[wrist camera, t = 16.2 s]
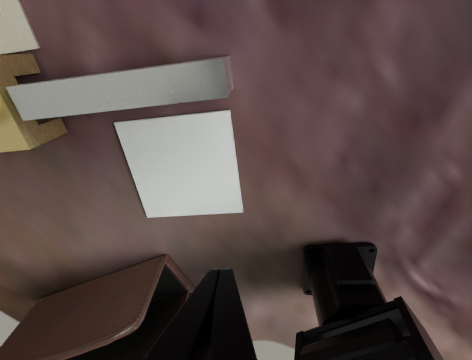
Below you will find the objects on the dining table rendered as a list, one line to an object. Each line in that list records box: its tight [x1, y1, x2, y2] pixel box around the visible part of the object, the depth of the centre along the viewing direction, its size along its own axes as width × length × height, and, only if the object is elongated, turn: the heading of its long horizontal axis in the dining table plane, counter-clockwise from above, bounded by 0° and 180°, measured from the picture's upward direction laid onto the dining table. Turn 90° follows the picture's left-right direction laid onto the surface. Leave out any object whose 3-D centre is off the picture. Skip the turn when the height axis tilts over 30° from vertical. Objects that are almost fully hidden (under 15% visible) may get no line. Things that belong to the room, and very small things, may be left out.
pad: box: [114, 110, 243, 218], centre depth 21 cm, size 9×9×1 cm
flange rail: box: [0, 0, 234, 121], centre depth 14 cm, size 11×22×6 cm, turn 97°
